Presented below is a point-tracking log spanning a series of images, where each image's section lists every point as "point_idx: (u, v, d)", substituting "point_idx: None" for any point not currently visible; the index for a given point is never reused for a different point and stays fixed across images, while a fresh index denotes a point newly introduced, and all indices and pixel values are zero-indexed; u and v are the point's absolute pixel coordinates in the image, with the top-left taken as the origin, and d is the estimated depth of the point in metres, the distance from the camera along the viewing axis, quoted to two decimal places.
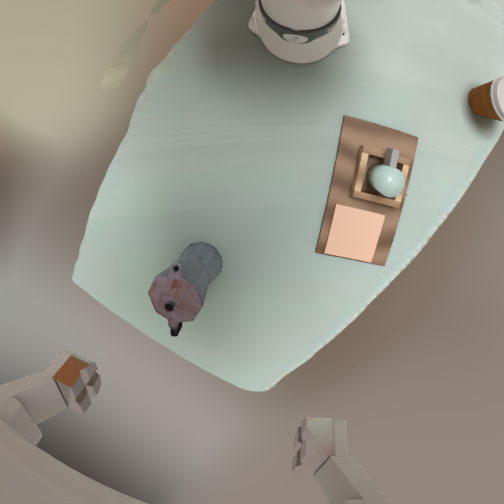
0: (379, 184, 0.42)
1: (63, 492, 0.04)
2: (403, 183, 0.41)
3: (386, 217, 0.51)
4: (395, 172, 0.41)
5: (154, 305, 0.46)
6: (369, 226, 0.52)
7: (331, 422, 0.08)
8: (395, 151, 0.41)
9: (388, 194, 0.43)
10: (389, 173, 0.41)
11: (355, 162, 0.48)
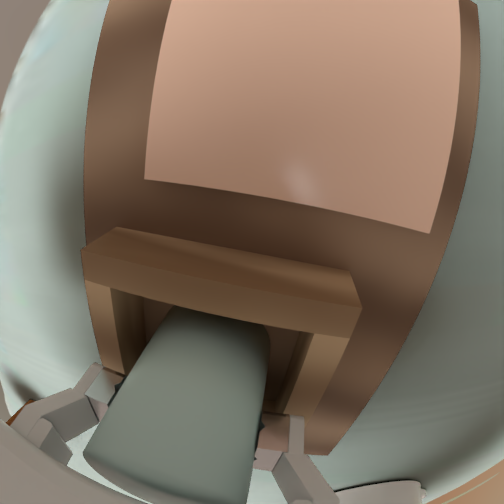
0: None
1: (63, 492, 0.04)
2: (98, 470, 0.06)
3: (139, 158, 0.10)
4: (158, 502, 0.06)
5: None
6: (227, 101, 0.08)
7: (288, 418, 0.08)
8: None
9: (150, 470, 0.05)
10: None
11: None
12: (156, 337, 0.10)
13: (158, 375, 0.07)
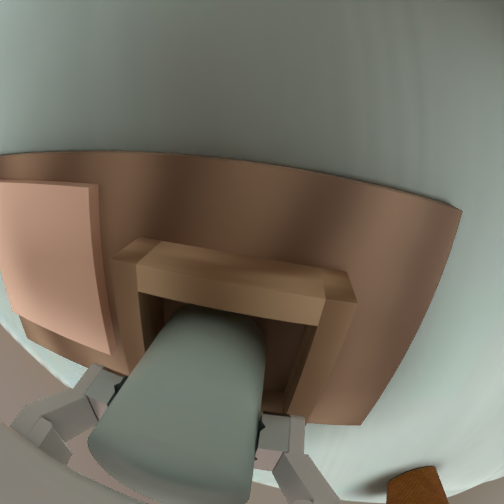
0: (228, 477, 0.06)
1: (63, 492, 0.04)
2: (108, 470, 0.06)
3: None
4: (173, 500, 0.06)
5: None
6: (67, 309, 0.14)
7: (288, 418, 0.08)
8: None
9: (137, 441, 0.05)
10: (197, 501, 0.06)
11: (270, 253, 0.12)
12: None
13: (148, 365, 0.08)
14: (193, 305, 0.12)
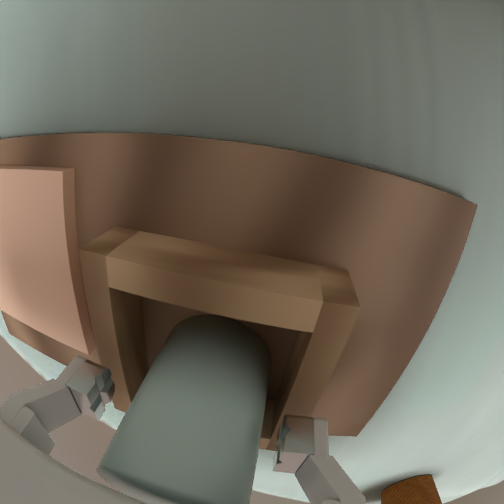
0: None
1: (63, 492, 0.04)
2: (118, 488, 0.07)
3: None
4: None
5: None
6: (43, 304, 0.13)
7: (312, 420, 0.08)
8: None
9: (141, 481, 0.05)
10: None
11: (260, 246, 0.10)
12: (153, 364, 0.10)
13: (148, 397, 0.08)
14: (194, 321, 0.12)
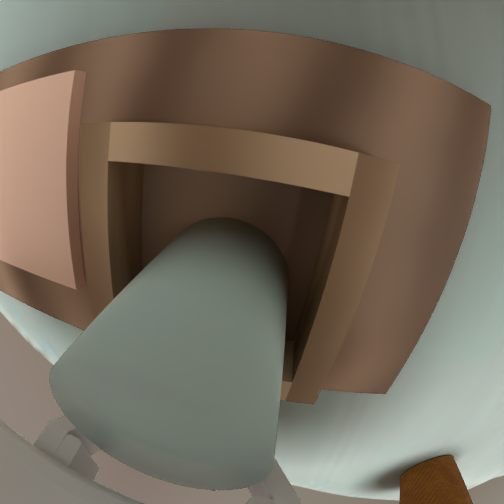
0: (249, 446, 0.04)
1: (63, 492, 0.04)
2: (76, 423, 0.05)
3: (79, 290, 0.13)
4: (158, 471, 0.05)
5: None
6: (32, 231, 0.11)
7: None
8: None
9: (118, 381, 0.04)
10: (192, 475, 0.05)
11: (280, 127, 0.09)
12: None
13: (146, 277, 0.06)
14: (208, 221, 0.10)
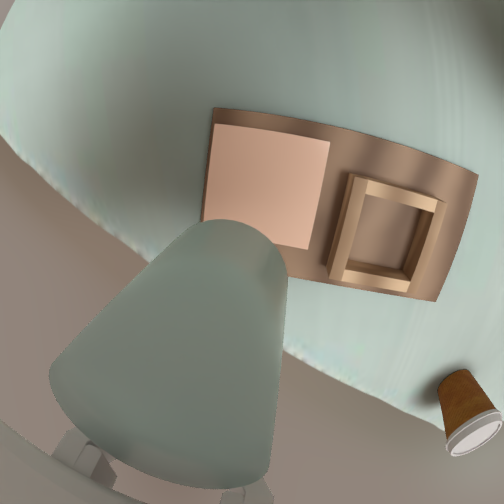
0: (252, 452, 0.04)
1: (63, 492, 0.04)
2: (69, 412, 0.05)
3: (300, 251, 0.28)
4: (146, 466, 0.05)
5: None
6: (282, 217, 0.26)
7: None
8: None
9: (133, 382, 0.04)
10: (181, 473, 0.05)
11: (408, 185, 0.23)
12: (160, 254, 0.09)
13: (160, 274, 0.06)
14: (219, 222, 0.10)
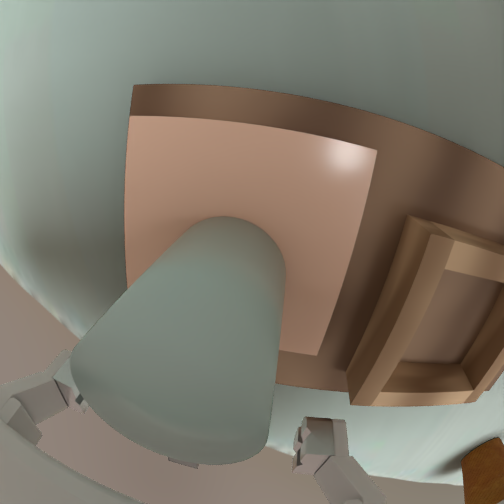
0: (252, 421, 0.05)
1: (63, 492, 0.04)
2: (86, 395, 0.06)
3: None
4: (157, 443, 0.06)
5: None
6: None
7: (330, 422, 0.08)
8: (184, 463, 0.09)
9: (149, 358, 0.05)
10: (189, 448, 0.06)
11: (497, 237, 0.11)
12: (167, 249, 0.10)
13: (169, 267, 0.07)
14: (221, 219, 0.11)
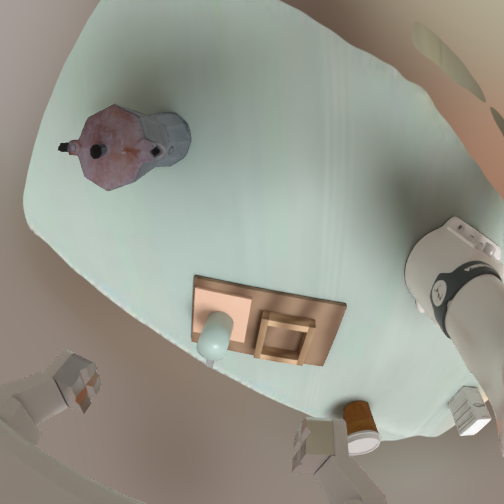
0: (224, 349, 0.44)
1: (63, 492, 0.04)
2: (197, 348, 0.45)
3: (241, 342, 0.54)
4: (208, 356, 0.45)
5: (95, 116, 0.25)
6: None
7: (331, 422, 0.08)
8: (209, 366, 0.48)
9: (212, 340, 0.44)
10: (214, 356, 0.45)
11: (297, 315, 0.50)
12: (209, 320, 0.49)
13: (212, 327, 0.46)
14: (219, 312, 0.50)
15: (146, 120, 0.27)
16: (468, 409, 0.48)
